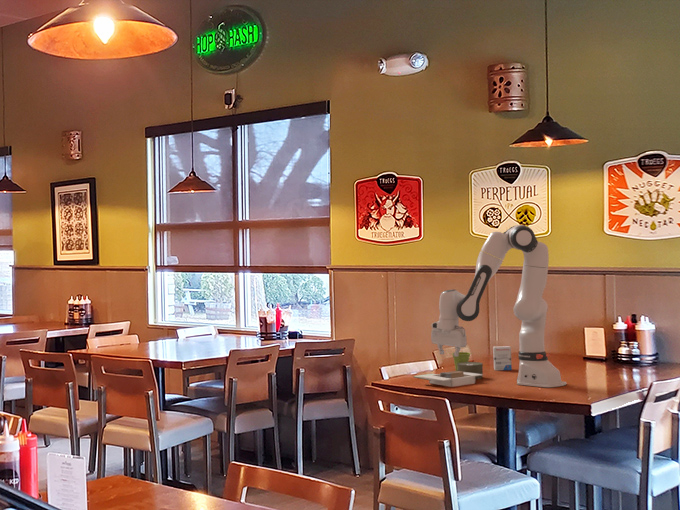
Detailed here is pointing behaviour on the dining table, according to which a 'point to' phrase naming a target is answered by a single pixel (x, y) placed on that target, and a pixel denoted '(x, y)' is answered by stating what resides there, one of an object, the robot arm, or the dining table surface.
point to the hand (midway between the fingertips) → (448, 355)
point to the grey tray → (467, 379)
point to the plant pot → (461, 358)
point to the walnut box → (452, 374)
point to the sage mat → (423, 375)
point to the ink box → (502, 358)
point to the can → (471, 368)
